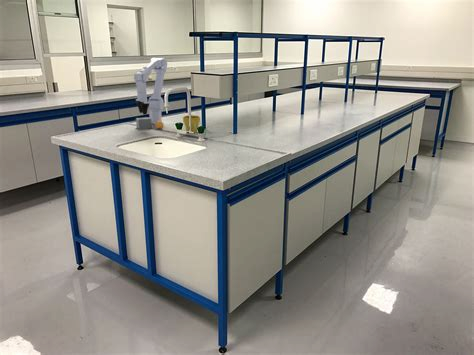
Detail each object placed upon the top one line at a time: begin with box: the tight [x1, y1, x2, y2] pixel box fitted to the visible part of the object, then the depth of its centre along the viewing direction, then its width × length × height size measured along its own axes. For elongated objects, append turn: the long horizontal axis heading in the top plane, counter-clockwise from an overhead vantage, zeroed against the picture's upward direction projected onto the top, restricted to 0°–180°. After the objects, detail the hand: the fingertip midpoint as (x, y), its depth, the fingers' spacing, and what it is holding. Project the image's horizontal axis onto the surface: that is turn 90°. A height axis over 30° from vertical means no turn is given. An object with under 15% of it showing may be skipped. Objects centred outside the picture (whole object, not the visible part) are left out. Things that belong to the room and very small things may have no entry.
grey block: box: [135, 116, 153, 130], centre depth 243 cm, size 6×8×6 cm
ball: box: [154, 120, 164, 129], centre depth 242 cm, size 5×5×5 cm
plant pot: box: [182, 114, 201, 133], centre depth 231 cm, size 10×10×10 cm
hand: (143, 113), depth 241 cm, fingers open, 7 cm apart
